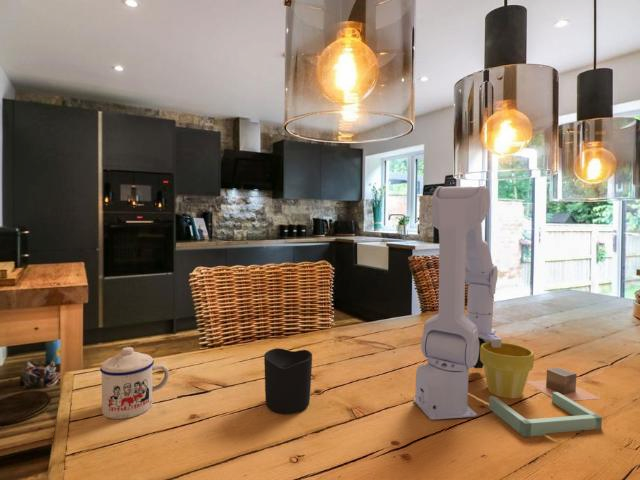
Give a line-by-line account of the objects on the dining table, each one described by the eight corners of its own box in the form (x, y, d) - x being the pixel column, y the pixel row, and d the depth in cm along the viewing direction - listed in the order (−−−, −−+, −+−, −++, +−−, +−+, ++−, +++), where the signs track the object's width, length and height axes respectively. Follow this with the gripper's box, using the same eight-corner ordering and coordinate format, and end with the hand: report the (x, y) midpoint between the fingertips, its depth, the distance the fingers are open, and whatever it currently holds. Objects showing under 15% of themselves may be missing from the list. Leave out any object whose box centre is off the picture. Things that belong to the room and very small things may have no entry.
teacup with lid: (103, 425, 67) (102, 360, 67) (98, 404, 75) (97, 345, 74) (174, 408, 74) (174, 348, 74) (163, 390, 82) (163, 336, 81)
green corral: (524, 437, 67) (525, 423, 66) (488, 408, 77) (489, 396, 76) (601, 430, 69) (601, 417, 69) (556, 403, 79) (557, 392, 79)
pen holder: (291, 389, 83) (292, 344, 83) (321, 405, 76) (322, 356, 76) (254, 403, 77) (255, 353, 76) (283, 421, 70) (283, 367, 70)
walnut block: (563, 394, 82) (564, 376, 82) (545, 387, 86) (546, 369, 86) (575, 391, 84) (576, 373, 84) (557, 384, 88) (558, 367, 88)
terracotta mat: (558, 403, 79) (558, 401, 79) (524, 382, 89) (524, 381, 89) (600, 400, 81) (600, 398, 81) (562, 380, 91) (562, 378, 91)
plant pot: (486, 378, 91) (488, 337, 91) (536, 391, 85) (538, 348, 84) (472, 393, 83) (474, 348, 83) (525, 409, 77) (528, 361, 76)
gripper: (514, 319, 87) (511, 378, 87) (477, 304, 101) (475, 355, 102) (486, 320, 86) (483, 380, 86) (452, 305, 100) (450, 357, 101)
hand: (477, 367), depth 94 cm, fingers closed
